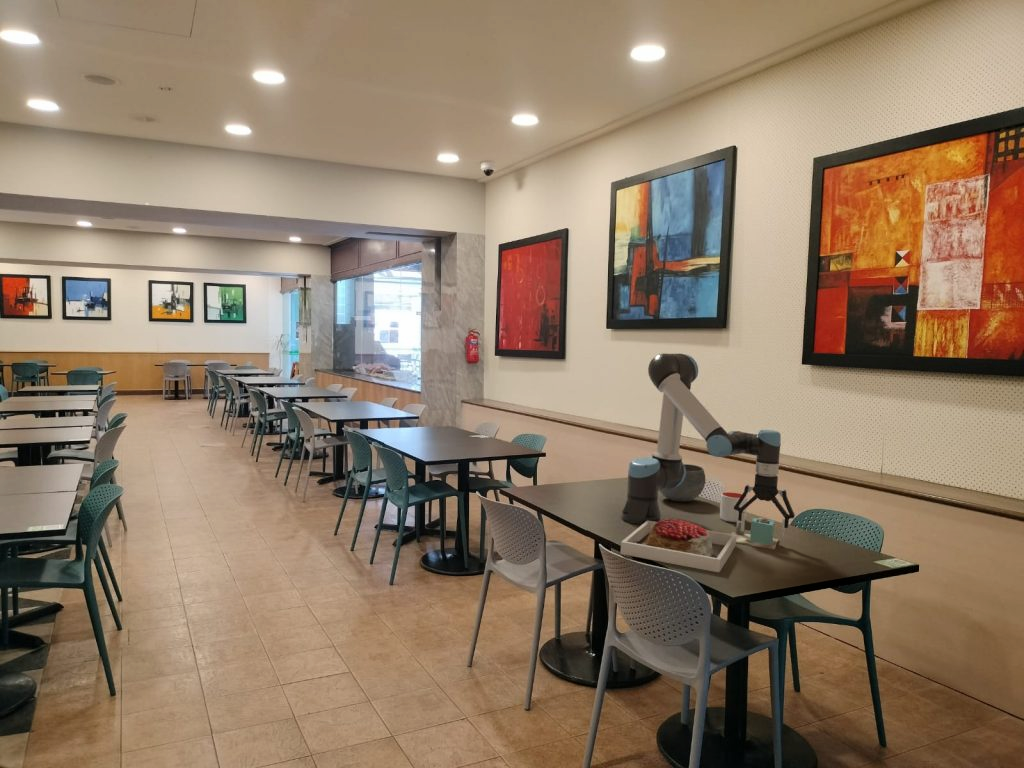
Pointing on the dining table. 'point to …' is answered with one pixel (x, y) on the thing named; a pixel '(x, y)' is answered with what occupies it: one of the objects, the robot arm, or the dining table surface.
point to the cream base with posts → (745, 538)
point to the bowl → (687, 485)
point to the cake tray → (678, 557)
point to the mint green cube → (762, 532)
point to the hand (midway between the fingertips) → (762, 533)
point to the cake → (680, 537)
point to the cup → (731, 506)
